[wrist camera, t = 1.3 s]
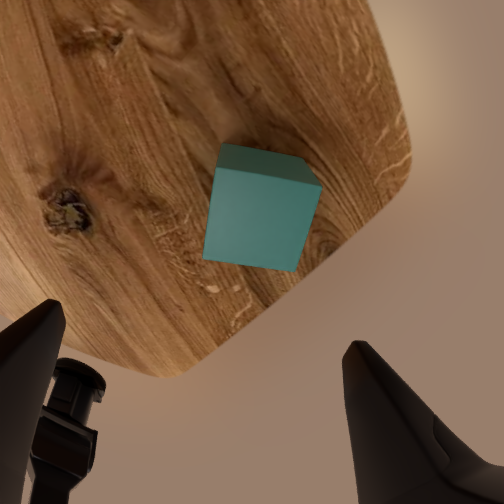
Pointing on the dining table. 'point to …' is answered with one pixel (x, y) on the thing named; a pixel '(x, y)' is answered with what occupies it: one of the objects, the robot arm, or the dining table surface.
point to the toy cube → (260, 208)
